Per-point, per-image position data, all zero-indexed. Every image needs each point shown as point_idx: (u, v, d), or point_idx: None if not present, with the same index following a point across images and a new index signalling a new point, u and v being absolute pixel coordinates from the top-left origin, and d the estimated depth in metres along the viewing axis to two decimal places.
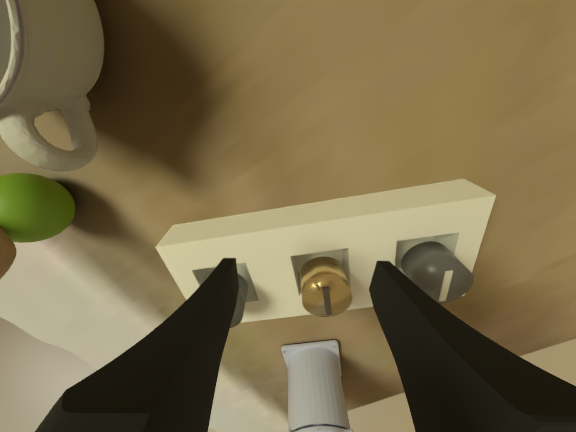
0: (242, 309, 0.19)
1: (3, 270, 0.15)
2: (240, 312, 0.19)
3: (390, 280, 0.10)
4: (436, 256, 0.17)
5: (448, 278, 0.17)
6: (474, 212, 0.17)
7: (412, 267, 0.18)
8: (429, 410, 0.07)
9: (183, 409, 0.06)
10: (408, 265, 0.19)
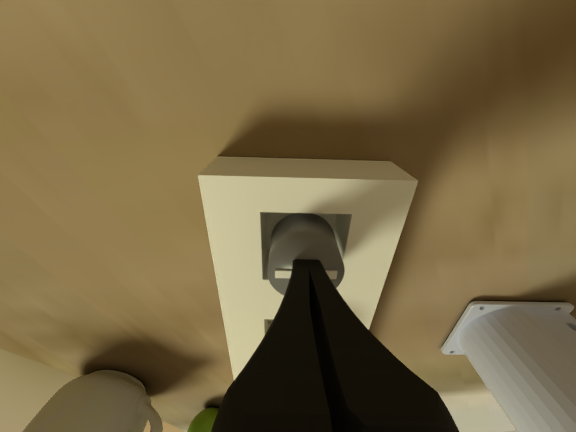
0: None
1: None
2: None
3: (311, 279, 0.10)
4: None
5: (290, 271, 0.12)
6: (226, 198, 0.12)
7: None
8: None
9: None
10: None
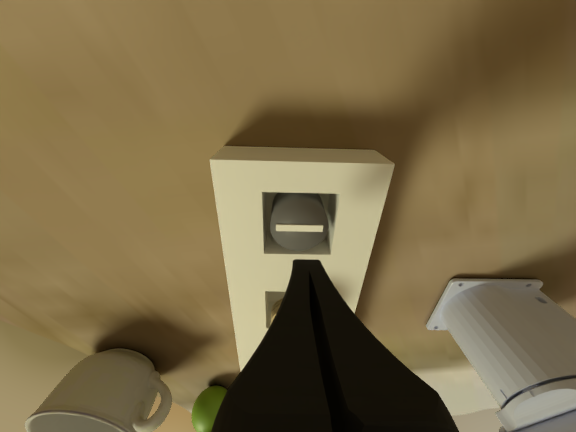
0: None
1: None
2: None
3: (311, 279, 0.10)
4: None
5: (287, 225, 0.15)
6: (233, 180, 0.14)
7: None
8: None
9: None
10: None
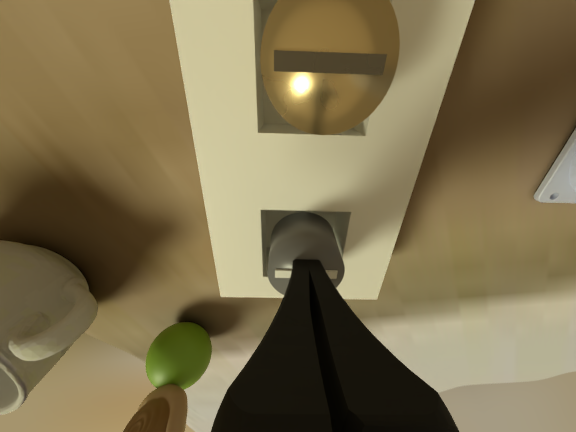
0: (310, 239, 0.11)
1: (177, 414, 0.15)
2: (312, 245, 0.11)
3: (311, 279, 0.10)
4: None
5: None
6: None
7: None
8: None
9: None
10: None
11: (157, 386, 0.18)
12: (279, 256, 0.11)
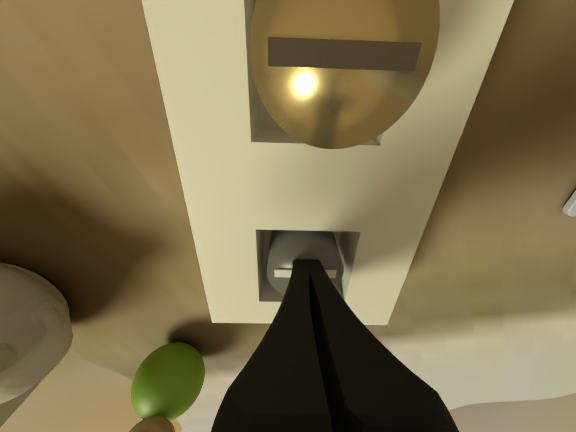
0: (309, 239, 0.11)
1: None
2: (311, 244, 0.11)
3: (311, 279, 0.10)
4: None
5: None
6: None
7: None
8: None
9: None
10: None
11: (143, 417, 0.17)
12: (278, 256, 0.11)
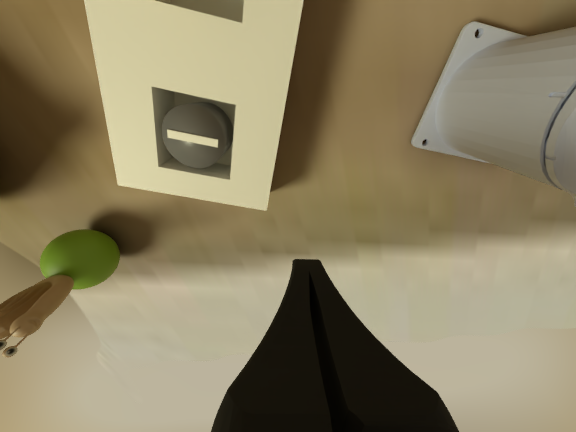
0: (195, 105, 0.14)
1: (55, 289, 0.16)
2: (196, 108, 0.14)
3: (311, 279, 0.10)
4: None
5: None
6: None
7: None
8: None
9: None
10: None
11: (48, 276, 0.19)
12: (170, 116, 0.14)
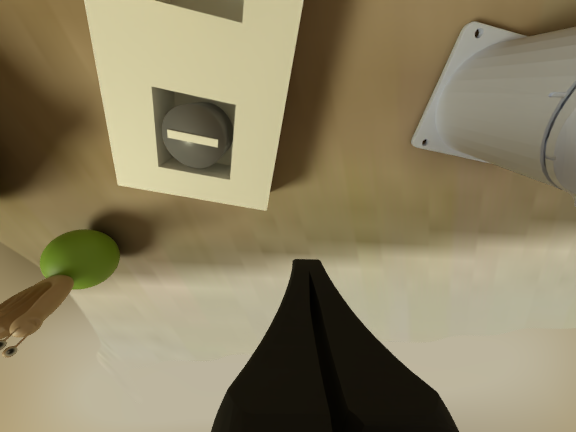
0: (195, 105, 0.14)
1: (55, 289, 0.16)
2: (196, 108, 0.14)
3: (311, 279, 0.10)
4: None
5: None
6: None
7: None
8: None
9: None
10: None
11: (48, 276, 0.19)
12: (170, 116, 0.14)
